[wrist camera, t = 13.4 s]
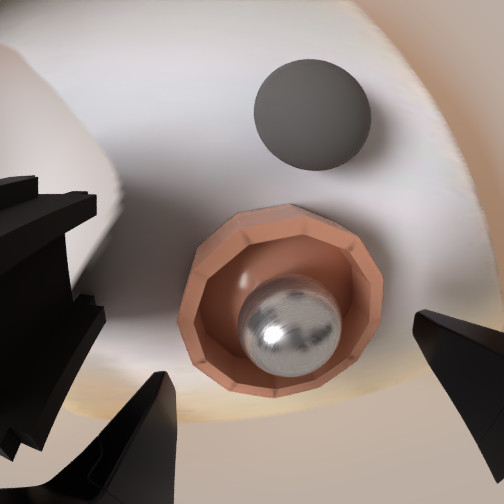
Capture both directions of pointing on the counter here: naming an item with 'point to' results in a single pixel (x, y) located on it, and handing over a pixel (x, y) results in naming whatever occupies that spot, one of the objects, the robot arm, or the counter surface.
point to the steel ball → (289, 325)
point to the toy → (39, 310)
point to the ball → (312, 114)
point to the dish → (262, 268)
